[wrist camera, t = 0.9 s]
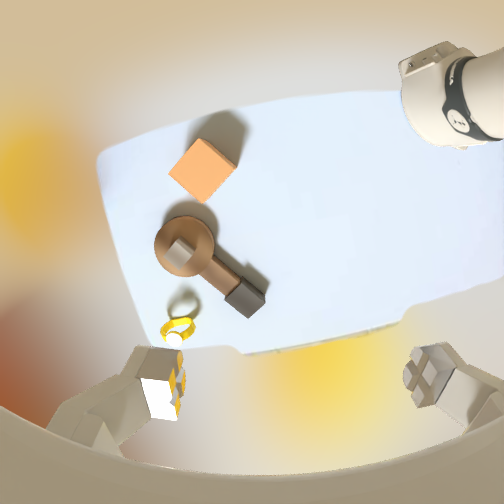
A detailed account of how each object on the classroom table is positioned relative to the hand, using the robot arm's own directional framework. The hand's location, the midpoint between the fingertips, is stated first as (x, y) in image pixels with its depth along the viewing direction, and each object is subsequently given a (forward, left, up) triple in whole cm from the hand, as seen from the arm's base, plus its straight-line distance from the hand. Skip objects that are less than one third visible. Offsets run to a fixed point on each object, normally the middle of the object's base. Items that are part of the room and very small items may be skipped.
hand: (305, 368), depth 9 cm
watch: (+25, +3, -35) cm, 43 cm away
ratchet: (+13, +1, -34) cm, 37 cm away
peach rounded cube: (+2, -10, -34) cm, 36 cm away
